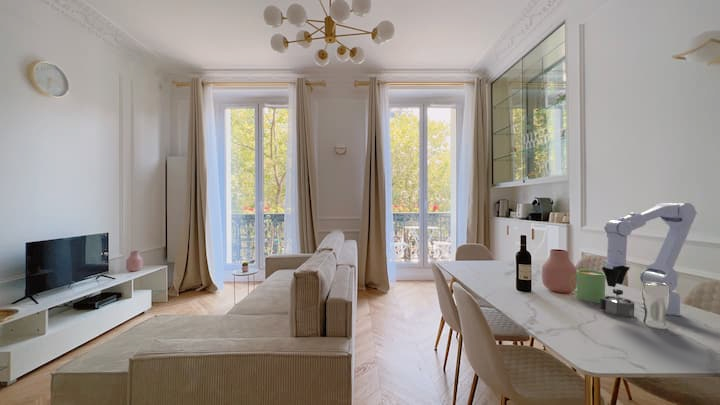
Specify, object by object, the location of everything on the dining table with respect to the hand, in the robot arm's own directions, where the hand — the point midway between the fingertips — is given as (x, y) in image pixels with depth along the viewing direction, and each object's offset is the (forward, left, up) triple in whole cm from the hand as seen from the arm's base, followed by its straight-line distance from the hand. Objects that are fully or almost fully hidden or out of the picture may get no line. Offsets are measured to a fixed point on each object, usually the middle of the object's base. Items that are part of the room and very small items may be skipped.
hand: (615, 285), depth 121 cm
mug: (+4, -16, -11) cm, 20 cm away
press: (-1, +1, -11) cm, 11 cm away
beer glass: (-8, +11, -11) cm, 17 cm away
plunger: (-1, +1, -7) cm, 7 cm away
